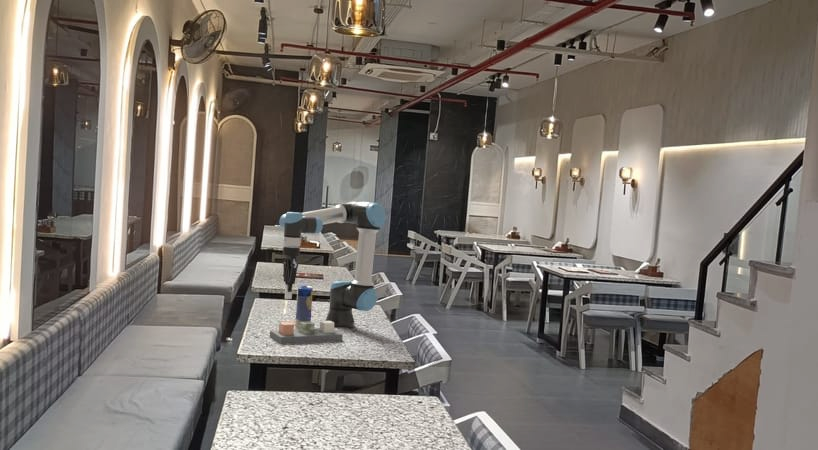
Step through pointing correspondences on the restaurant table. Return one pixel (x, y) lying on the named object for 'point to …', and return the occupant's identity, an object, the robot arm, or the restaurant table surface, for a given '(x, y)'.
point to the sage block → (307, 327)
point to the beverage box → (303, 305)
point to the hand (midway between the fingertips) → (288, 298)
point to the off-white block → (326, 326)
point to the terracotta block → (286, 328)
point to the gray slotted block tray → (305, 337)
